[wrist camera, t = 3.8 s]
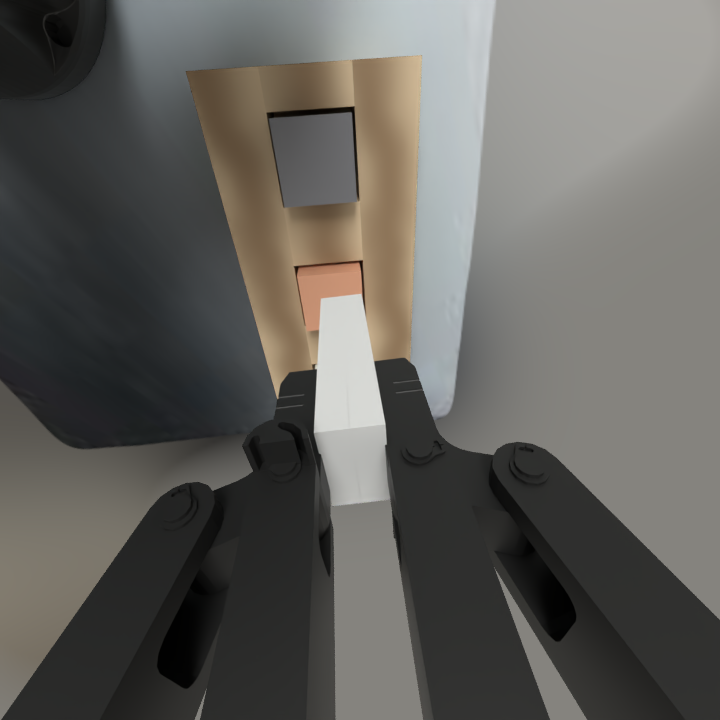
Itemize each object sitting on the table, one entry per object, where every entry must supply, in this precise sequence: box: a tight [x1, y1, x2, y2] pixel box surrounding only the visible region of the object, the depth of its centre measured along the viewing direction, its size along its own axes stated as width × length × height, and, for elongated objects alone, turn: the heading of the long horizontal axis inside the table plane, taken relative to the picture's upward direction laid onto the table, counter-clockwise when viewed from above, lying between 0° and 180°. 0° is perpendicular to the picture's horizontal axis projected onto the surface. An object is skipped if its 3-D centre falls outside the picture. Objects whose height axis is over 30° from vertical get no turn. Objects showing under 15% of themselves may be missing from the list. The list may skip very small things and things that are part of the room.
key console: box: [186, 55, 422, 399], centre depth 31 cm, size 14×30×5 cm, turn 3°
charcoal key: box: [269, 112, 357, 208], centre depth 23 cm, size 5×5×4 cm
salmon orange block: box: [297, 260, 363, 331], centre depth 29 cm, size 5×5×4 cm
